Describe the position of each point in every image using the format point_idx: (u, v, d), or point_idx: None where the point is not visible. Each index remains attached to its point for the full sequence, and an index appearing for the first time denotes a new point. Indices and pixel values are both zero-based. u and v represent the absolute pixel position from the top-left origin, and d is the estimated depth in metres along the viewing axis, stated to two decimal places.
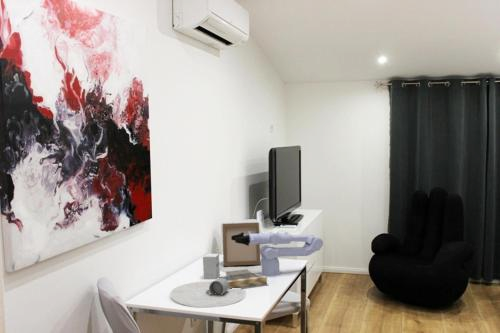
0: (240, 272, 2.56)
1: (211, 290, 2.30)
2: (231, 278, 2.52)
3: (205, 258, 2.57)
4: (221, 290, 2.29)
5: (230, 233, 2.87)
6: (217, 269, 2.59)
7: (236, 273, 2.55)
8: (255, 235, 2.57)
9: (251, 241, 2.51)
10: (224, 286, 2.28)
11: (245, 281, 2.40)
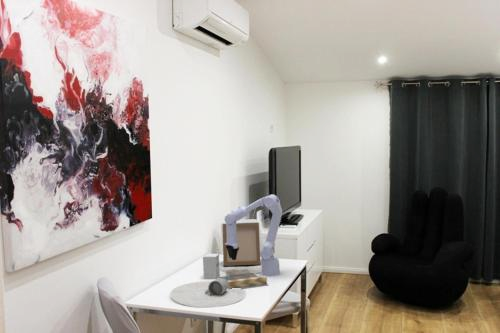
0: (240, 272, 2.56)
1: (210, 290, 2.31)
2: (231, 278, 2.52)
3: (205, 258, 2.57)
4: (220, 290, 2.29)
5: None
6: (217, 269, 2.59)
7: (236, 273, 2.55)
8: (228, 238, 2.64)
9: (235, 247, 2.60)
10: (223, 286, 2.29)
11: (245, 281, 2.40)
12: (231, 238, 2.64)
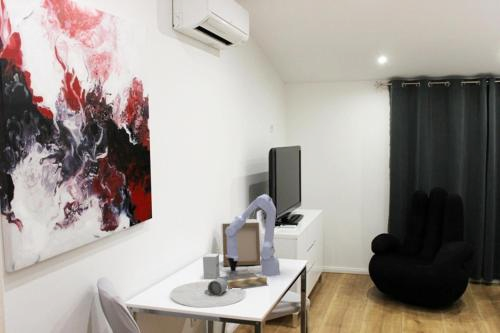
0: (240, 272, 2.56)
1: (209, 290, 2.31)
2: (231, 278, 2.52)
3: (205, 258, 2.57)
4: (219, 290, 2.29)
5: None
6: (217, 269, 2.59)
7: (236, 273, 2.55)
8: (229, 251, 2.64)
9: (236, 259, 2.60)
10: (222, 286, 2.29)
11: (245, 281, 2.40)
12: (232, 250, 2.64)
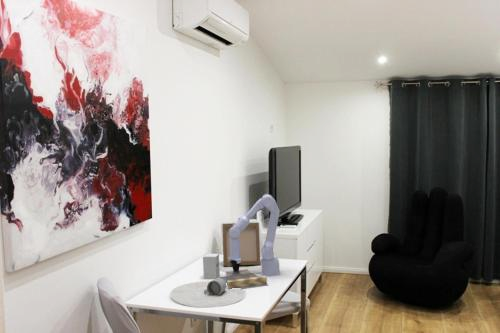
0: (240, 272, 2.56)
1: (209, 290, 2.31)
2: (231, 278, 2.52)
3: (205, 258, 2.57)
4: (219, 290, 2.29)
5: None
6: (217, 269, 2.59)
7: (236, 273, 2.55)
8: (232, 253, 2.59)
9: (239, 262, 2.54)
10: (222, 286, 2.29)
11: (245, 281, 2.40)
12: (234, 252, 2.58)
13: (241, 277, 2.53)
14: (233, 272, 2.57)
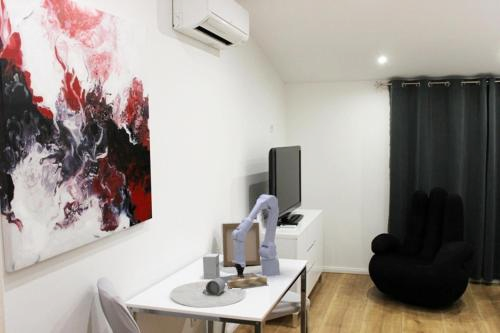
0: (244, 276, 2.49)
1: (208, 290, 2.31)
2: None
3: (205, 258, 2.57)
4: (218, 290, 2.30)
5: (230, 233, 2.87)
6: (217, 269, 2.59)
7: (240, 277, 2.47)
8: (236, 256, 2.51)
9: (243, 266, 2.46)
10: (221, 286, 2.29)
11: (245, 281, 2.40)
12: (239, 256, 2.50)
13: None
14: (237, 276, 2.49)
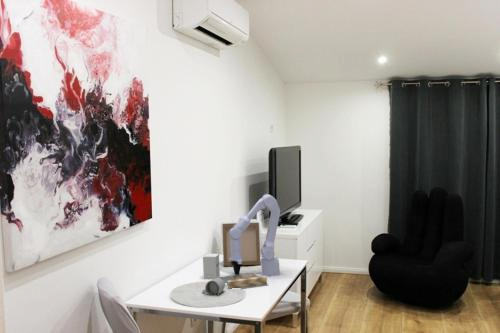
0: (244, 276, 2.49)
1: (207, 290, 2.31)
2: None
3: (205, 258, 2.57)
4: (217, 290, 2.30)
5: None
6: (217, 269, 2.59)
7: (240, 277, 2.47)
8: (233, 254, 2.57)
9: (240, 263, 2.53)
10: (220, 286, 2.29)
11: (245, 281, 2.40)
12: (235, 253, 2.57)
13: None
14: (237, 276, 2.49)
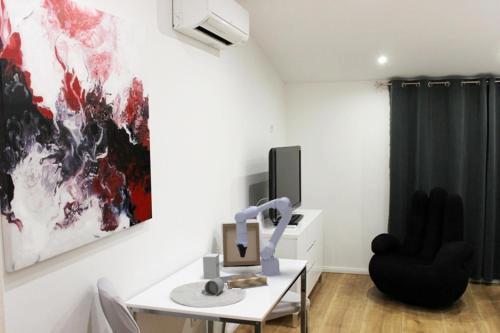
0: (244, 276, 2.49)
1: (206, 290, 2.31)
2: None
3: (205, 258, 2.57)
4: (216, 290, 2.30)
5: (230, 233, 2.87)
6: (217, 269, 2.59)
7: (240, 277, 2.47)
8: (238, 237, 2.63)
9: (245, 245, 2.58)
10: (219, 286, 2.29)
11: (245, 281, 2.40)
12: (241, 236, 2.62)
13: None
14: (237, 276, 2.49)
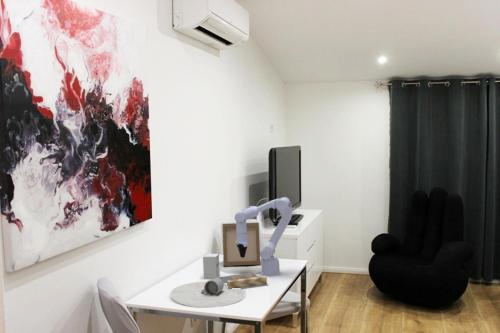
0: (244, 276, 2.49)
1: (206, 290, 2.31)
2: None
3: (205, 258, 2.57)
4: (216, 290, 2.30)
5: (230, 233, 2.87)
6: (217, 269, 2.59)
7: (240, 277, 2.47)
8: (238, 237, 2.63)
9: (245, 245, 2.58)
10: (219, 286, 2.29)
11: (245, 281, 2.40)
12: (241, 236, 2.62)
13: None
14: (237, 276, 2.49)
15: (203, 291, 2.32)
